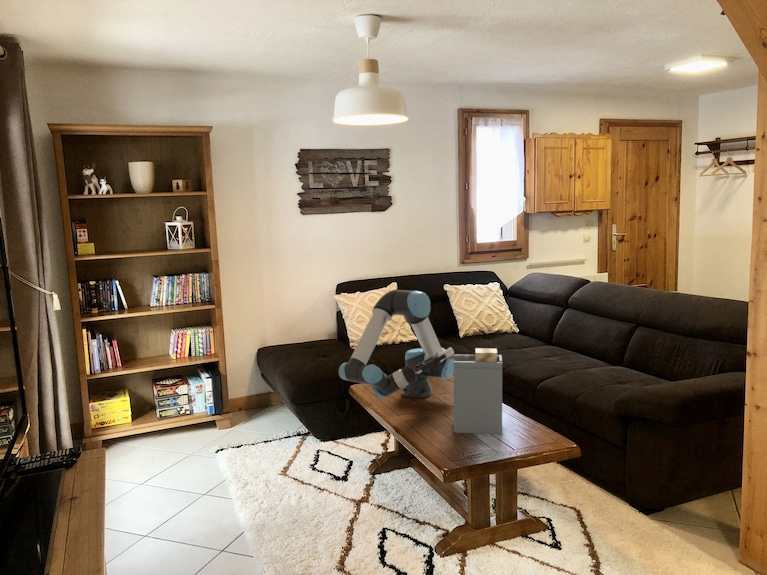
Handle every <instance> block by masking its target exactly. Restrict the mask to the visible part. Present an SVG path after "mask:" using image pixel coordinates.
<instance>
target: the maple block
mask: <svg viewBox="0 0 767 575" xmlns="http://www.w3.org/2000/svg"><path fill="white" fill-rule="evenodd" d="M474 350H475V352H474V353H475V354H459V355H455V354H454V355H452V356H450V357H448V358H446V359H463V360H475V362H497V355H498V348H491V347H490V348H488V347H486V348H485V347H484V348H479V347H476V348H475V349H474ZM438 355H440V354H433V359H434V358H436V357H438Z"/></svg>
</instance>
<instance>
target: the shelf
mask: <svg viewBox="0 0 767 575" xmlns="http://www.w3.org/2000/svg"><path fill="white" fill-rule="evenodd" d="M454 355H460V354H455V353H454ZM454 433H458V434H460V433H461V434H483V435H486V434H487V435H503V356H502V354H497V362H475V360H463V359H455V361H454V373H453V434H454Z"/></svg>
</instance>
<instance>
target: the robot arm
mask: <svg viewBox="0 0 767 575" xmlns="http://www.w3.org/2000/svg"><path fill="white" fill-rule="evenodd" d="M431 309H432V307H431V300H430V298H429V296H428V295H427V294H426V293H425V292H423V291H419V290H402V289H393V290H389V291H388V292H386V293H384V294H383V295H382V296H381V297H380V298H379V299H378V301H377V302H376V303H375V305H373V308H372V310H371V313H372V314H371V317H370V319H369V321H368V323H367V325H366V327H365V329H364V331H363V333H362V335H361V337H360V338H359V340H358V342H357V344H356V346H355V349H354V350H353V353H352V355H350V356H351V357H350V359H349V361H348V362H343V363H342V364H340V366H339V368H338V375H339V377H340V378H341V380H345V381H348V382H354V383H358V384H364V385H368V386H371V390H372V392H373V394H374V395H375V396H376V398H377V399H379V400H382V399H384V398H386V397H389V396H390V395H392V394H394V393H396V392H398V391H399V390H401V392H402V396H404V397H407V398H411V399H421V398H427V397H430V396H432V394H433V388H432V386H431V383H430V380H429V377H430V378H435V379H441V380H449V379H450V378H452V376H454V361H455V359H446V358H448V357H450V356H452V355H455V351H454V349H453V348H452V346H451V347H448V348H447V349H445V348H443V347H441V344H440V342H439V338H438V337H437V334H436V333H435V330H434V329H433V326H432V324H431V321H430V318H429V315H430V313H431ZM395 315H396V316H402V317H403V318H404V320H405V322H406V323H407V324H409V325H410V326H411V328H412V330H413V331H414V334H415V336H416V339H417V341H418V342H419V344H420V346H421V348H420V347H419V348H412V349H409V350H407V351H406V352H405V354H404V355H405V357H404V362H405V363H404V364H405V365H404V366H403V367H402V368H399V369H398V370H396V371H394V372H393V373H391V374H389V375H388V374H386V373H385V372H384V371H383V370H382V369H381V368H380V367H379V366H377V365H375V364H374V363H373V364H368V362H369V360H370V358H371V355H372V354H373V352H374V349H375V348H376V345H377V343H378V342H379V340H380V337H381V336H382V333H383V332H384V329H385V327H386V326H387V323H388V322H390V321H391V320H392V318H393V317H394V316H395ZM433 354H440V355H438V357H436V358H434V359H433Z"/></svg>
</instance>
